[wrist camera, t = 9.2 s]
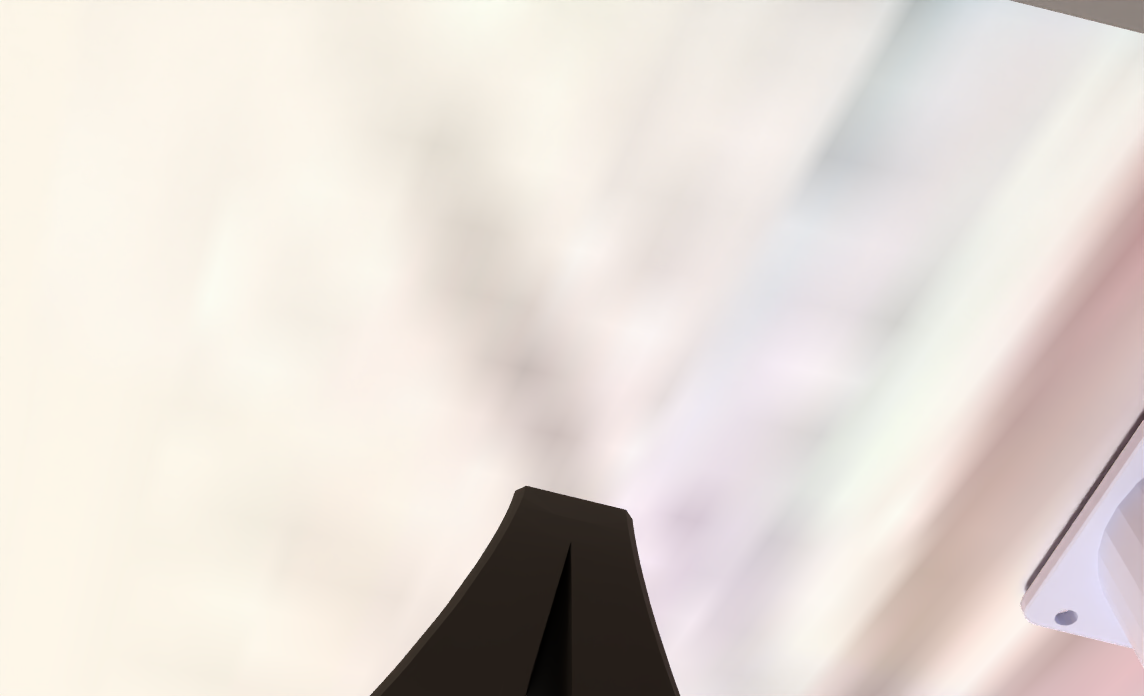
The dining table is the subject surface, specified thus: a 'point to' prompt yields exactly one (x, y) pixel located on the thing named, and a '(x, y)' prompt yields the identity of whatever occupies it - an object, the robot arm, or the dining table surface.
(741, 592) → the dining table surface
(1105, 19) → the chute
